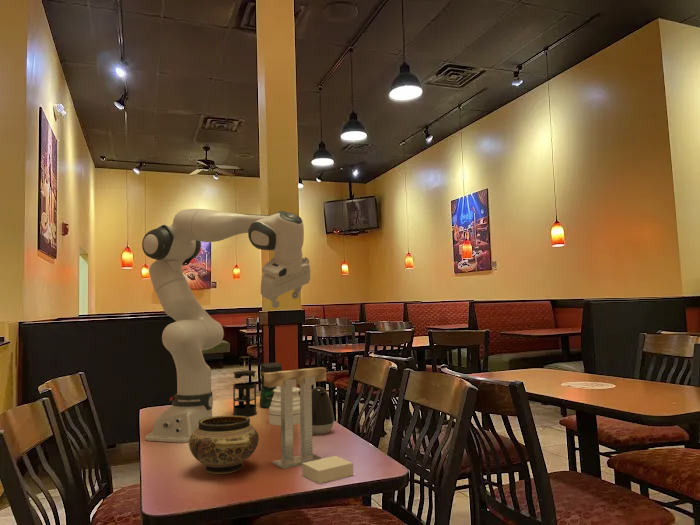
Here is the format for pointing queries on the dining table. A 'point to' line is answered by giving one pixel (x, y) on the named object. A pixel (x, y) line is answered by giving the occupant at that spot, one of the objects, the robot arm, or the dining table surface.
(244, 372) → the french press
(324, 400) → the black tapered rounded piece
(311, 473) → the beige flat block
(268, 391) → the coffee jar
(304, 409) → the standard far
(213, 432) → the ceramic bowl
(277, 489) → the dining table surface
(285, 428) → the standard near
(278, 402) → the honey pot
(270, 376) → the rail
